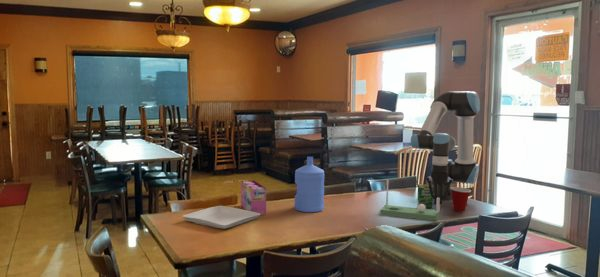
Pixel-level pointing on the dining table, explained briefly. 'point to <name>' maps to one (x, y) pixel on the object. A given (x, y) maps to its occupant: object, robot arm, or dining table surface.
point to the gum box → (253, 197)
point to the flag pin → (387, 193)
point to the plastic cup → (459, 198)
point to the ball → (421, 208)
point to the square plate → (221, 216)
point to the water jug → (309, 188)
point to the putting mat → (409, 212)
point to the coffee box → (424, 196)
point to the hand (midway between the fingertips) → (437, 210)
